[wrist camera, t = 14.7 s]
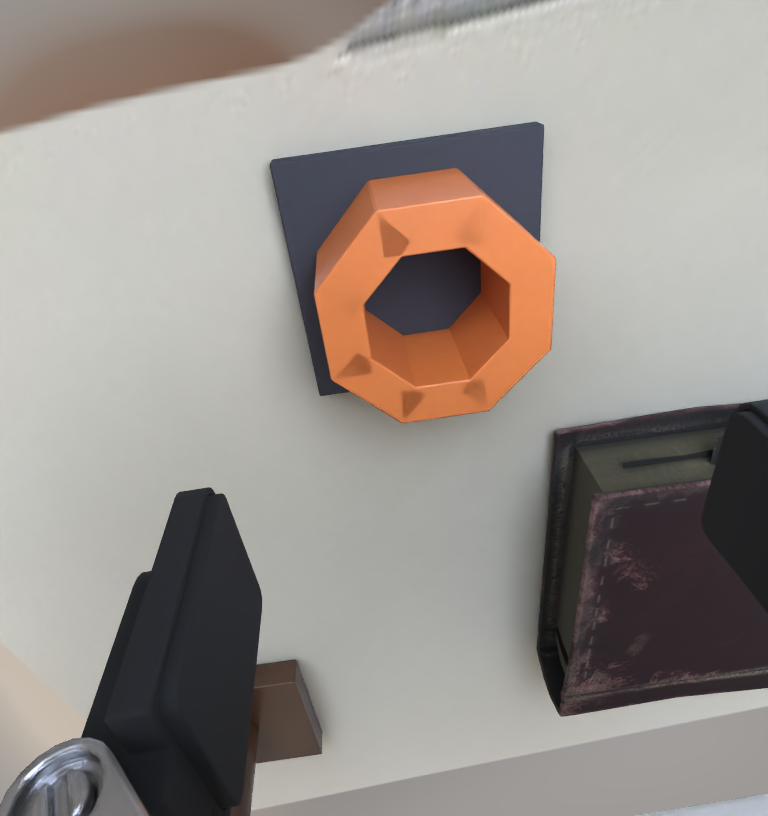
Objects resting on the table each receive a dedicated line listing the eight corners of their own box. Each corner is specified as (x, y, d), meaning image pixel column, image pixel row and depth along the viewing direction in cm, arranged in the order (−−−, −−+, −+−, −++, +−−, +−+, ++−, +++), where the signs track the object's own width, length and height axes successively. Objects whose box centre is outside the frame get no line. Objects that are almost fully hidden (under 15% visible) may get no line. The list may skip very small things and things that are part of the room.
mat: (320, 386, 23) (319, 396, 23) (271, 159, 18) (268, 163, 18) (529, 356, 23) (535, 365, 23) (537, 121, 18) (544, 124, 18)
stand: (196, 749, 39) (172, 874, 33) (151, 679, 34) (114, 811, 28) (322, 731, 39) (320, 852, 33) (296, 658, 34) (288, 786, 28)
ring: (340, 375, 22) (341, 433, 19) (304, 189, 18) (298, 221, 15) (516, 349, 22) (549, 402, 19) (519, 157, 18) (561, 183, 15)
